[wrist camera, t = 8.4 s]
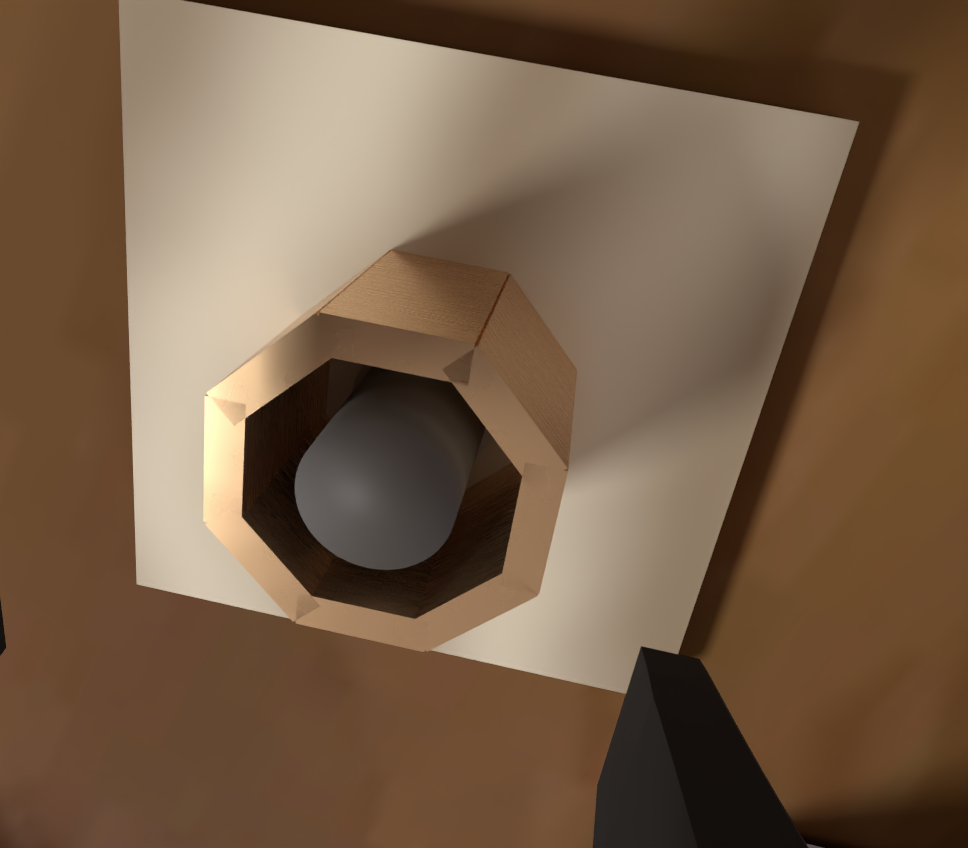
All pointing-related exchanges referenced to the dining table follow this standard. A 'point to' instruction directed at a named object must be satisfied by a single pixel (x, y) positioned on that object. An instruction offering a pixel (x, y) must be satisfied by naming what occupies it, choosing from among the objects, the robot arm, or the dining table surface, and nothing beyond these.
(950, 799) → the dining table surface
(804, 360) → the dining table surface
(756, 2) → the dining table surface
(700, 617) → the dining table surface
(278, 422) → the wooden ring
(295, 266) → the shaft base
